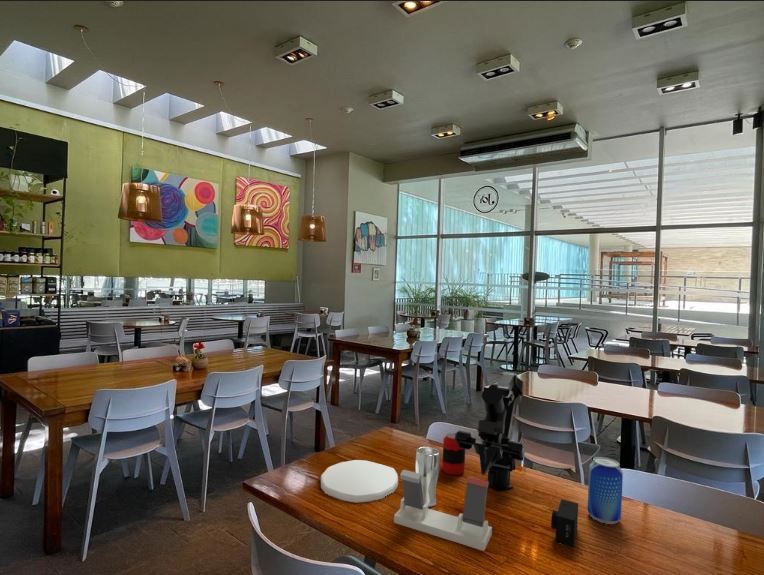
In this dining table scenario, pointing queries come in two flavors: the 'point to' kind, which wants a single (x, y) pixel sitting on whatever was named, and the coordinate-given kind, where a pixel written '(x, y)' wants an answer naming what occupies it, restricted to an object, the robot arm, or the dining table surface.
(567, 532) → the digital camera
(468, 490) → the red-capped switch paddle
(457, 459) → the soda can
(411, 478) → the grey lever
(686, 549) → the dining table surface
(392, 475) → the white flat disc
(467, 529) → the switch console
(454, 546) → the dining table surface
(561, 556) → the dining table surface
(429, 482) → the beer glass
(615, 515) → the beer can
